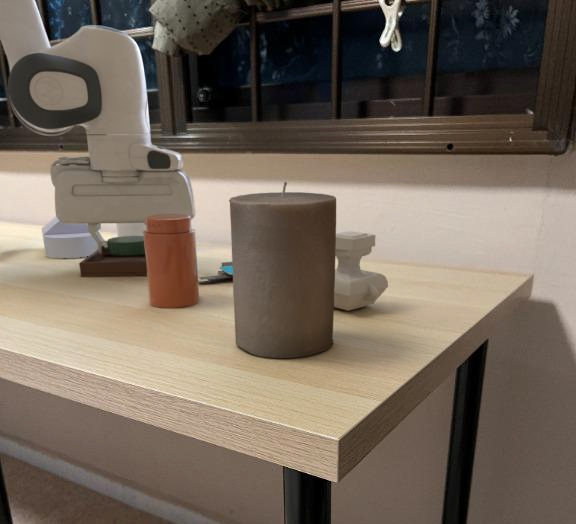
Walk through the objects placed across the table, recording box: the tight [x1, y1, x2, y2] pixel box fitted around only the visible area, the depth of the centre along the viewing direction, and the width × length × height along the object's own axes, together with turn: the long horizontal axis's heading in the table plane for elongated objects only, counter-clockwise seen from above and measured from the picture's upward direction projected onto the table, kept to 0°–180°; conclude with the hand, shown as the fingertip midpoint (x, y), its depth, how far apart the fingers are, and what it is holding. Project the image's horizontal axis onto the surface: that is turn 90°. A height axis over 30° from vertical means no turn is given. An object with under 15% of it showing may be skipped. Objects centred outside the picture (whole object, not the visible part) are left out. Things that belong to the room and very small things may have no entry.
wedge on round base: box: [41, 216, 98, 259], centre depth 105 cm, size 9×7×13 cm
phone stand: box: [198, 261, 233, 285], centre depth 86 cm, size 20×12×2 cm, turn 114°
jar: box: [143, 214, 200, 309], centre depth 72 cm, size 6×6×10 cm
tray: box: [78, 250, 147, 278], centre depth 93 cm, size 12×13×2 cm
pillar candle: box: [228, 181, 337, 359], centre depth 57 cm, size 10×10×15 cm
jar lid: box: [107, 236, 145, 255], centre depth 93 cm, size 7×7×2 cm
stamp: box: [334, 230, 389, 312], centre depth 70 cm, size 9×7×8 cm
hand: (131, 253), depth 93 cm, fingers closed on jar lid, 6 cm apart
